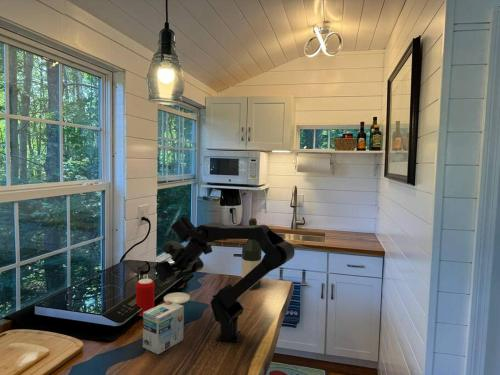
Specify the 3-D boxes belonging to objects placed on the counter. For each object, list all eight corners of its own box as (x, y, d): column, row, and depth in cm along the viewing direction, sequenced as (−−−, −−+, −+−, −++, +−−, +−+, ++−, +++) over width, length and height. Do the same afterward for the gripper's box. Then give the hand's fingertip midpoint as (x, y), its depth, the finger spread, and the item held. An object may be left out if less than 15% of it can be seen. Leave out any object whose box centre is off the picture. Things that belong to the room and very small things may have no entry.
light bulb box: (158, 355, 99) (158, 318, 98) (141, 347, 103) (141, 312, 102) (184, 339, 108) (184, 305, 107) (168, 333, 112) (168, 300, 111)
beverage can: (148, 308, 129) (148, 276, 128) (157, 314, 124) (157, 281, 123) (132, 313, 124) (132, 280, 123) (141, 319, 120) (141, 285, 119)
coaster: (184, 305, 132) (184, 303, 132) (159, 302, 134) (159, 301, 134) (193, 295, 142) (193, 293, 142) (169, 292, 144) (169, 291, 144)
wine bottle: (260, 290, 150) (262, 220, 147) (240, 289, 150) (242, 219, 147) (260, 283, 158) (262, 217, 155) (241, 282, 158) (243, 216, 155)
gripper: (196, 230, 126) (174, 258, 132) (157, 237, 110) (133, 268, 116) (214, 254, 122) (190, 282, 128) (176, 265, 106) (151, 296, 112)
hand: (167, 281), depth 121 cm, fingers open, 9 cm apart
